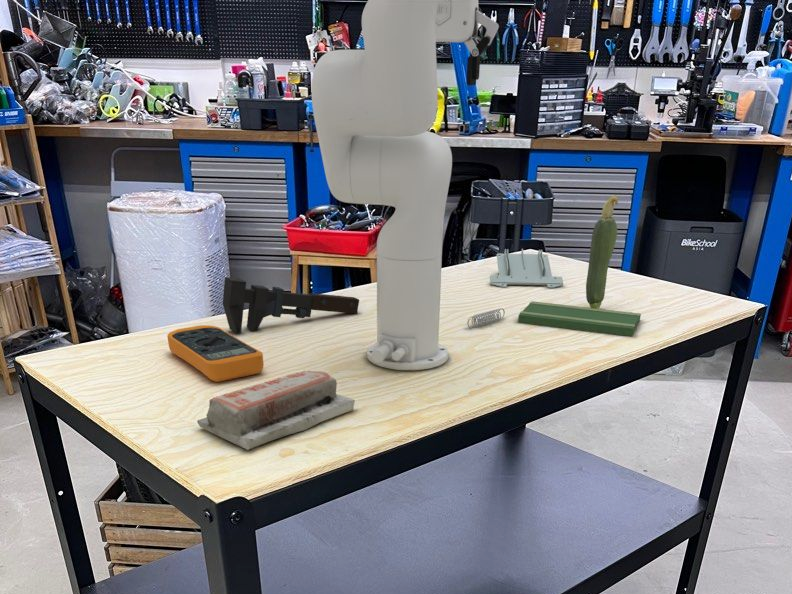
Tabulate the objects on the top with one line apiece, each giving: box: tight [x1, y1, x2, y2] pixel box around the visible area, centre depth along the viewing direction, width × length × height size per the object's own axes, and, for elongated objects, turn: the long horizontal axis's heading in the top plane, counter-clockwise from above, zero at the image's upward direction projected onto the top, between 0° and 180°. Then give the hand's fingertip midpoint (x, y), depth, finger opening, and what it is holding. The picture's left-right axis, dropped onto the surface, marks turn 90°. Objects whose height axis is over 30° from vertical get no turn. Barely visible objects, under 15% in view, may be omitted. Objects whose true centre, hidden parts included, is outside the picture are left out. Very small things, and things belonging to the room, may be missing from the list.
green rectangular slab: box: [517, 300, 642, 337], centre depth 142 cm, size 10×20×2 cm, turn 69°
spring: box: [467, 307, 506, 329], centre depth 140 cm, size 10×2×2 cm, turn 134°
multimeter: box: [167, 324, 264, 383], centre depth 119 cm, size 9×18×3 cm, turn 36°
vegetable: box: [585, 194, 619, 309], centre depth 144 cm, size 4×4×20 cm
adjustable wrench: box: [222, 276, 360, 334], centre depth 138 cm, size 8×3×25 cm
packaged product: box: [197, 370, 356, 451], centre depth 101 cm, size 18×5×10 cm
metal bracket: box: [489, 248, 564, 289], centre depth 168 cm, size 14×6×15 cm
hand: (443, 84), depth 130 cm, fingers open, 9 cm apart
